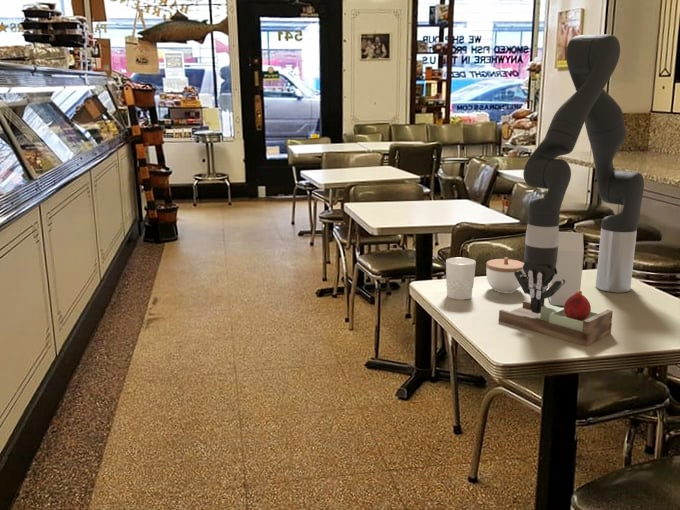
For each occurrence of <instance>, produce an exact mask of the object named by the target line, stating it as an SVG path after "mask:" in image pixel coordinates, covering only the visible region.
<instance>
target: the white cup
mask: <svg viewBox="0 0 680 510" xmlns="http://www.w3.org/2000/svg"><path fill="white" fill-rule="evenodd" d="M475 271H476V260H474V259H472V258H469V257H458V256H457V257H450V258H449V257H448V258H447V259H445V272H446V273H445V275H446V276H445V282H446V284H445V285H446V297H448V298H450V299H452V300H457V301H465V299H466V300H470V299H472V296H473V289H474V285H475V284H474V283H475V282H474V281H475V275H476V274H475V273H476V272H475Z"/></svg>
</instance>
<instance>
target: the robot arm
mask: <svg viewBox="0 0 680 510" xmlns="http://www.w3.org/2000/svg"><path fill="white" fill-rule="evenodd" d="M620 46H621V45H620V42H619V39H618V38H617V36H615V35H614V34H608V33H607V34H606V33H605V34H603V33H601V34H581V35H575V36H574V37H572V38H571V39H569V41H568V42H567V45H566V50H565V55H566V56H565V57H566V59H565V60H566V64H567V70H568V72H569V76H570V77H571V80H572V84H573V86H574V88H575V89H574V90H575V91H576V92H575V93H573V94H572V95H571V96H570V97H569V98H568V99H567V100H566V101H564V102H563V103H562V104H561V105H560V107H559V108H558V109H557V111H555V113H554V114H553V117H552V119H551V122H550V124H549V126H548V130H547V131H546V134H545V137H544V138H543V139H542V141H541V142H540V143H539V145H538V146H537V147H536V148H535V150H534V151H533V152H532V154H531V155H530V156H529V158H528V159H527V161H526V163H525V164H524V168H523V180H524V182H525V183H526V185H528V187H531V188H537V189H543V190H544V189H545V190H547V192H546V195H545V196H544V197H538V198H537V197H536V198H533V199H531V200H530V202H529V205H528V217H527V227H526V231H525V244H524V245H525V246H524V247H525V248H524V255H523V256H524V257H523V258H524V262H523V263H524V265H523V268H522V269H521V270H519V271H516V272H515V273H514V275H515V276H516V278H517V280H518V282H519V284H520V287H521V290H522V291H523V293H524V294H526V295H529V297H530V302H531V305H530V308H531V310H532V312H533V313H537V314H538V313H541V307H542V306H545V301H546V299H549V298H548V297H551V296H553V295H554V294H555V293H556V292H557V291H558V290H559V289H560V288H561V287H562V286H563V285H564V284H565V280H564V279H560V278H559V276H558V275H557V269H556V263H557V255H558V243H559V232H560V230H559V229H560V217H561V215H560V214H561V213H560V212H561V207H562V203H563V201H564V198H565V195H566V192H567V189H568V187H569V185H570V181H571V178H572V170H571V167H570V164H569V162H567V160H564V159H562V158H561V159H560V158H558V157H560V156H561V157H562V156H564V155H569V154H570V153H572V152H573V151H574V149H575V147H576V144H577V142H578V140H579V137H580V134H581V131H582V129H583V126H584V125H585V129H586V135H587V138H588V141H589V145H590V149H591V152H592V158H593V162H594V167H595V168H594V169H595V175H596V176H595V178H596V184H597V185H596V186H597V190H598V195H599V198H600V199H601V201H602V202H604V203H606V204H611V205H619V206H623V208H622V211H620V212H619V213H617V214H613V215H608V216H604V217H603V218H602V219H601V225H600V227H601V228H600V237H599V238H600V239H599V247H598V255H597V256H598V257H597V259H598V260H597V268H596V276H595V277H596V279H595V288H596V289H598V290H601V291H604V292H608V293H619V294H621V293H627V292H630V291H631V285H632V277H633V269H634V261H635V249H636V241H637V231H638V225H639V224H638V223H639V221H640V215H641V209H642V208H641V207H642V203H643V202H642V201H643V197H644V192H645V191H644V190H645V179H644V176H643V174H642V173H640V172H637V171H627V170H616V168H615V167H614V163H613V161H614V159H615V156H616V154H617V153H618V152H619V150H620V149H621V147H622V145H623V143H624V141H625V139H626V137H627V136H626V135H627V128H626V123H625V117H624V114H623V110H622V107H620V104H618V102H617V101H616V100H615V99H614V98H613V97H612V96H611V94H609V93H608V92H607V91H606V90H605V87H606V85H607V84H608V82H609V80H610V78H611V77H612V75H613V73H614V72H615V70H616V67H617V65H618V63H619V60H620V55H621V47H620ZM552 279H553V281H552ZM551 281H552V284H553V285H552V286H551V287H550V288H549V283H550V282H551Z"/></svg>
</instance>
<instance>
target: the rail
mask: <svg viewBox="0 0 680 510" xmlns="http://www.w3.org/2000/svg"><path fill="white" fill-rule="evenodd" d="M530 305H531V301H528V300H523V301H522V306H521V307H518V308H515V309H513V310H511V311H508V310H505V309H499V310H498V311H499V312H498V321H499V322H501V323H507V324H509V323H510V324H509V325H512V324H513V326H516V327H520V328H523V329H526V330H530V331H534V332H537V333H541V334H544V335H547V336H551V337H554V338H557V339H561V340H564V341H567V342H571V343H574V344H578V345H582V346H584V347H588V346H590V345H592V344H594V343H595V342H598V341H599V340H600V341H601V340H602V339H603V338H605V337H608V336H609V335H611V334H612V325H613V313H614V311H613V310H611V309H606V310H603V311H602V312H598V313H599V314H597V315H595V316H593V317H591V318H588V319H586V320H584V321H583V329H582V332H581V331H577V330H573V329H570V328H566V327H563V326H559V325H556V324H552V323H549V322H547V321H543V320H540V315H541V313H538V314H537V313H533V312H532V310H531V308H530Z"/></svg>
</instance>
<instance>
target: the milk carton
mask: <svg viewBox="0 0 680 510" xmlns="http://www.w3.org/2000/svg"><path fill="white" fill-rule="evenodd" d="M584 248H585V246H584V232H571V231H570V232H566V231H562V232H561V231H559V243H558V255H557V263H556V269H557V275H558V276H559V278H560V279H564V280H565V284H564V285H563V286H562V287H561V288H560V289H559V290H558V291H557V292H556V293H555V294H554V295H553V296H551V297H548V298H547V299H548V301H549V305H553V306H557V307H560V306H562V307H564V305H565V302H566V301H567V299H568V298H569V297H571V296H572V295H574V294H575V293H576V292H577V291H578V290H580V291H581V289H582V288H581V287H582V276H583V275H582V273H583V265H584V263H583V262H584V254H585V253H584V252H585V249H584ZM552 281H553V279H552ZM552 281H551V282H550V283H549V285H548V289H549V288H550V287H551V286H552V285H553V284H552Z"/></svg>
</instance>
